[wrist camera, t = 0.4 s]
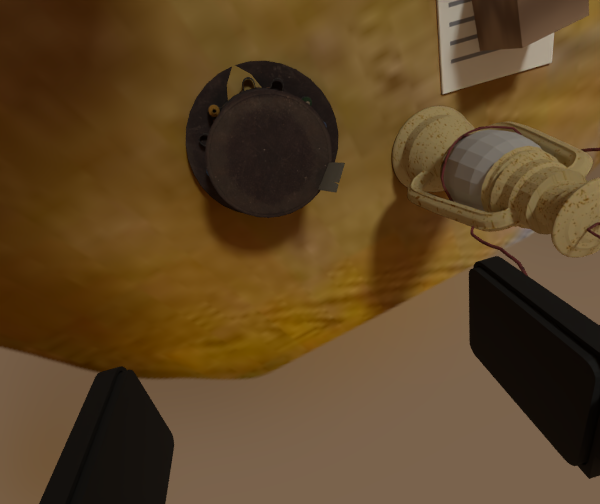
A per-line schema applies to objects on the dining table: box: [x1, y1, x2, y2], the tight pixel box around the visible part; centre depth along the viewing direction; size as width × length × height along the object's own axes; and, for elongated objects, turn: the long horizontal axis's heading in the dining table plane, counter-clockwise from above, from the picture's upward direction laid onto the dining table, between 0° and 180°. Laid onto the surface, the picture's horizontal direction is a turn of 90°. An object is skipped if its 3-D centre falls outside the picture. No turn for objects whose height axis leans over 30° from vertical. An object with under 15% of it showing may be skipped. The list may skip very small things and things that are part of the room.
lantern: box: [392, 106, 600, 326], centre depth 27 cm, size 12×10×30 cm
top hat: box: [186, 61, 345, 218], centre depth 33 cm, size 15×15×10 cm
